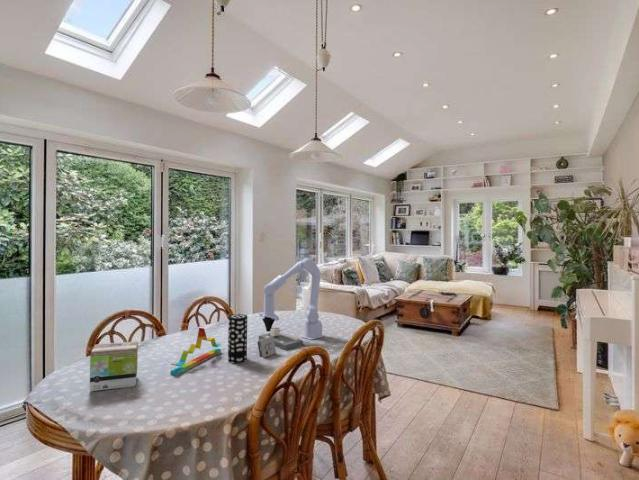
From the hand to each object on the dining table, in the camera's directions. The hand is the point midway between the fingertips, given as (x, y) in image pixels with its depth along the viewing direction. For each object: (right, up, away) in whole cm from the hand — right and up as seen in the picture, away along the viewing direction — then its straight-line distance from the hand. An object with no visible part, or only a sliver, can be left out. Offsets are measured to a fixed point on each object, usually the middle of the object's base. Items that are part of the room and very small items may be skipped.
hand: (268, 331), depth 201 cm
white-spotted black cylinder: (-9, -5, -34) cm, 36 cm away
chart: (-26, -5, -38) cm, 46 cm away
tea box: (-49, -5, -62) cm, 80 cm away
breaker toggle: (+4, -1, -4) cm, 6 cm away
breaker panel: (+7, -4, -7) cm, 11 cm away
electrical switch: (+2, -5, -26) cm, 27 cm away
